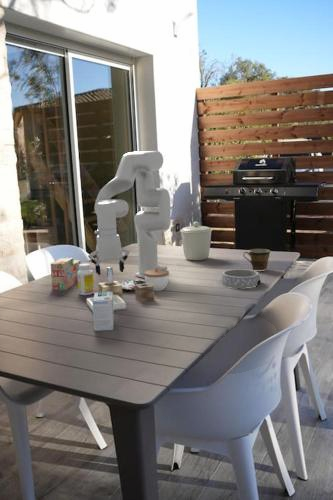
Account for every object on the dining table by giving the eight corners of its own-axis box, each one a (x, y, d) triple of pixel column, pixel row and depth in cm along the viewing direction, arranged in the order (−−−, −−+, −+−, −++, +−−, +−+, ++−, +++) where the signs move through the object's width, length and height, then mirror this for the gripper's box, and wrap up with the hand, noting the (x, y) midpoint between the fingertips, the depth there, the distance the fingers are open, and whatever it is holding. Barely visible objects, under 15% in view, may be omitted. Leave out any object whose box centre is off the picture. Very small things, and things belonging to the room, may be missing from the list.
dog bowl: (264, 281, 233) (264, 269, 232) (253, 291, 216) (253, 278, 215) (228, 278, 240) (228, 267, 239) (215, 287, 224) (215, 275, 223)
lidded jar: (151, 293, 216) (150, 272, 215) (141, 288, 226) (140, 267, 224) (173, 290, 221) (173, 268, 219) (162, 284, 230) (161, 264, 229)
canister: (191, 254, 298) (191, 219, 294) (218, 257, 288) (218, 220, 284) (174, 260, 284) (173, 222, 280) (201, 263, 273) (201, 224, 269)
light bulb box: (95, 321, 182) (93, 292, 180) (114, 320, 183) (112, 291, 181) (93, 331, 172) (92, 300, 170) (113, 330, 172) (112, 299, 170)
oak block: (117, 294, 217) (116, 280, 216) (122, 299, 210) (121, 285, 209) (99, 296, 215) (98, 283, 213) (103, 301, 207) (102, 287, 206)
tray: (117, 300, 207) (117, 294, 207) (125, 308, 196) (125, 302, 195) (86, 304, 203) (86, 298, 203) (93, 313, 192) (93, 306, 191)
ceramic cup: (268, 268, 257) (268, 248, 255) (270, 272, 247) (270, 252, 246) (242, 268, 259) (242, 248, 257) (243, 272, 249) (243, 252, 247)
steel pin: (114, 296, 211) (113, 267, 209) (108, 296, 211) (107, 268, 208) (112, 294, 214) (111, 266, 212) (106, 295, 213) (105, 267, 211)
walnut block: (149, 296, 212) (148, 282, 211) (154, 300, 206) (153, 286, 205) (135, 298, 210) (135, 284, 209) (140, 302, 204) (139, 287, 203)
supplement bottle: (96, 292, 222) (95, 263, 219) (89, 296, 215) (88, 266, 213) (83, 291, 224) (81, 262, 222) (75, 295, 218) (73, 265, 215)
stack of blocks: (69, 278, 249) (68, 253, 247) (82, 278, 248) (80, 253, 245) (52, 289, 228) (50, 263, 226) (65, 290, 227) (63, 263, 225)
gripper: (88, 235, 201) (91, 277, 205) (130, 231, 207) (132, 272, 210) (84, 233, 208) (87, 273, 212) (125, 228, 214) (127, 268, 217)
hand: (110, 272), depth 211 cm, fingers open, 9 cm apart
